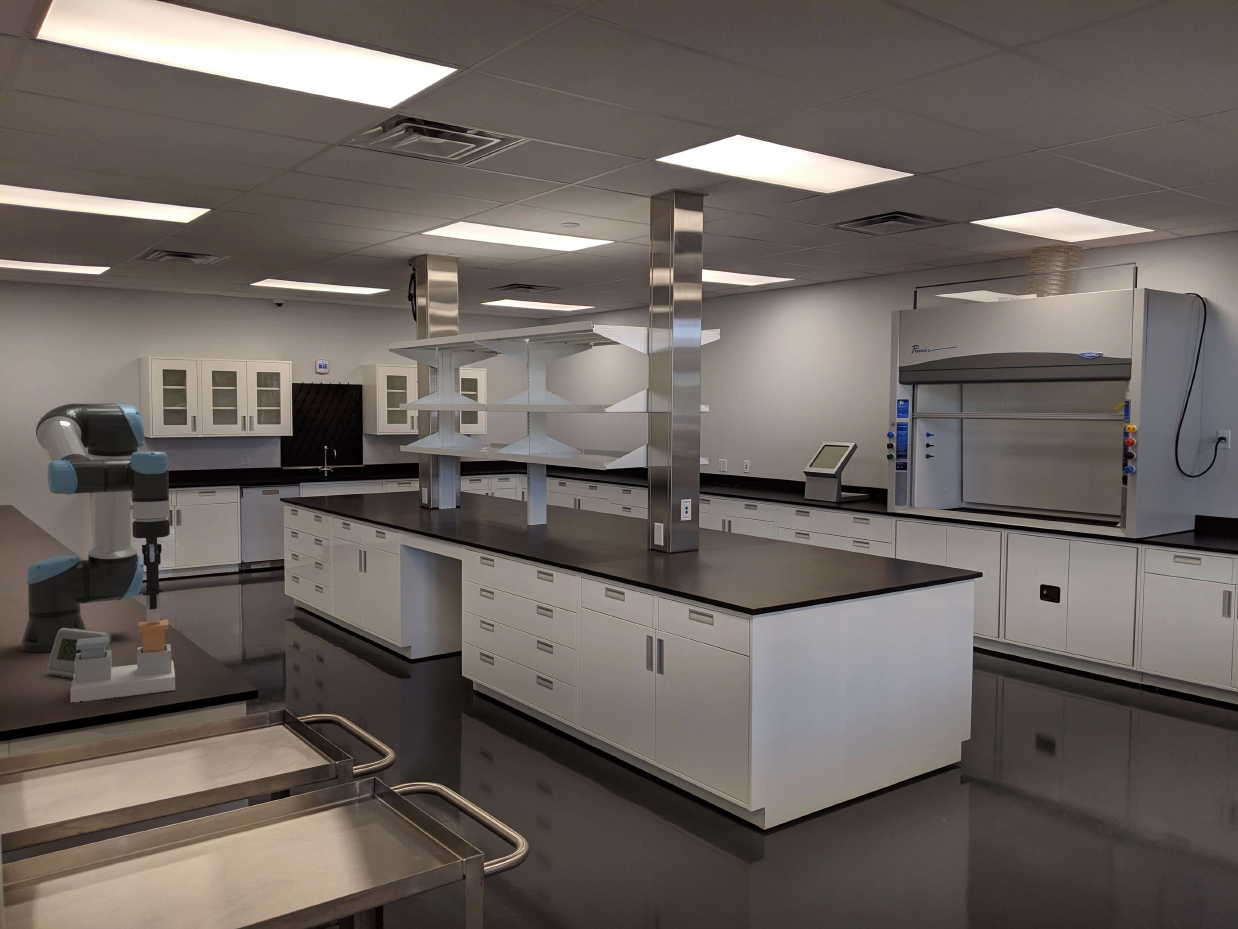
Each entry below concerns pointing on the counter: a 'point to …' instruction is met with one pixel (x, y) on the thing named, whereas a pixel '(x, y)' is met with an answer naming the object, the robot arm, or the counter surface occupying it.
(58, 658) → the digital clock
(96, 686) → the button console
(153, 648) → the orange plunger
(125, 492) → the robot arm
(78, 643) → the grey plunger
